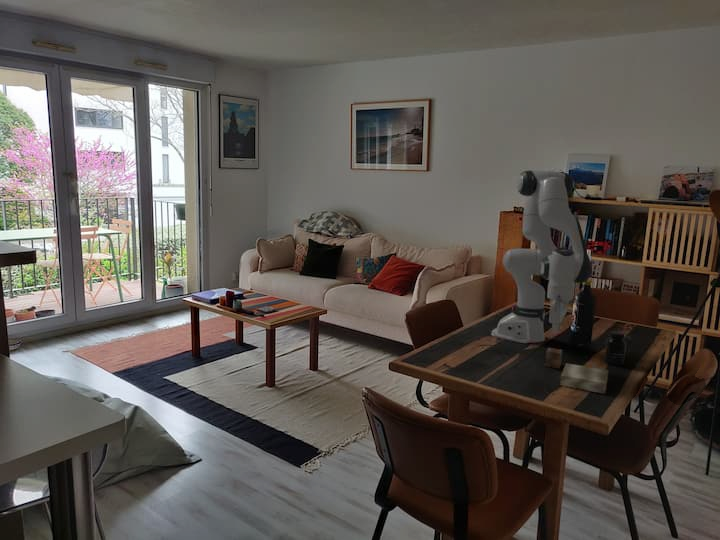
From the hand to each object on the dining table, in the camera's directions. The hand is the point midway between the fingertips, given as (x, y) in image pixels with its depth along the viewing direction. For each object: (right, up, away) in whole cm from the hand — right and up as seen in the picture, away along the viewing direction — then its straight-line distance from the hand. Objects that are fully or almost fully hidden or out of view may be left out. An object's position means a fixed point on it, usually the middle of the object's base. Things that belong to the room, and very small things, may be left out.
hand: (556, 330), depth 201 cm
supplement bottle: (+25, -13, +8) cm, 29 cm away
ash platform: (+5, -17, -13) cm, 22 cm away
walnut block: (0, -14, +3) cm, 14 cm away
